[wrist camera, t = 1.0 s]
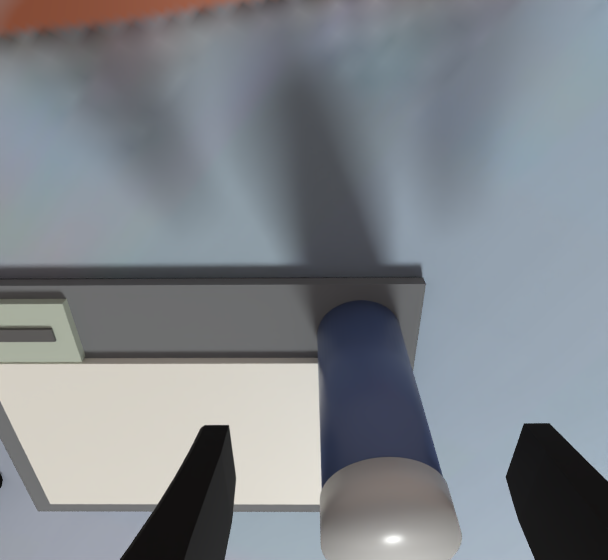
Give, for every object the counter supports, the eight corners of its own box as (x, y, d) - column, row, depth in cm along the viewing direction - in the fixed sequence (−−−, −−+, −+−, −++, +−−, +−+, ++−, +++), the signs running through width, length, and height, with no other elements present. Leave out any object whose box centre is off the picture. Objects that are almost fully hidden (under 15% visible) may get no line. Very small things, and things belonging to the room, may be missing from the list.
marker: (406, 298, 15) (473, 501, 9) (397, 367, 16) (450, 580, 10) (316, 298, 15) (321, 500, 9) (315, 367, 16) (320, 580, 10)
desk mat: (423, 277, 15) (425, 283, 14) (390, 503, 21) (392, 511, 21) (-70, 279, 15) (-79, 286, 15) (42, 503, 21) (37, 511, 21)
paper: (328, 357, 16) (328, 363, 16) (325, 498, 20) (325, 504, 20) (-13, 358, 16) (-18, 364, 16) (53, 497, 20) (50, 504, 20)
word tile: (66, 298, 15) (60, 305, 15) (85, 356, 16) (80, 363, 16) (-57, 299, 15) (-65, 306, 15) (-28, 356, 16) (-36, 364, 16)
